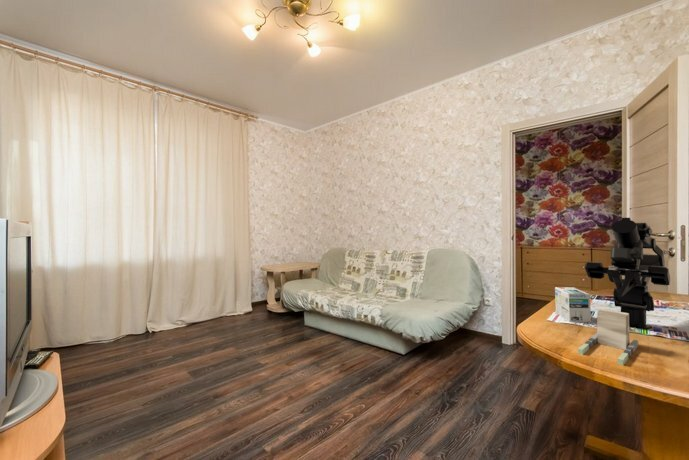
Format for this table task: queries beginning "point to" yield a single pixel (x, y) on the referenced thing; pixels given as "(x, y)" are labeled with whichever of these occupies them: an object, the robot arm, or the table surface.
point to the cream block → (613, 328)
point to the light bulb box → (572, 304)
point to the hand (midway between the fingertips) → (620, 295)
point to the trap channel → (623, 356)
